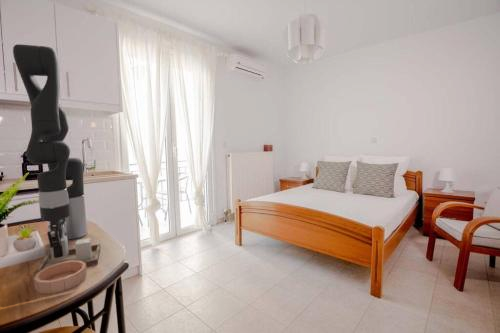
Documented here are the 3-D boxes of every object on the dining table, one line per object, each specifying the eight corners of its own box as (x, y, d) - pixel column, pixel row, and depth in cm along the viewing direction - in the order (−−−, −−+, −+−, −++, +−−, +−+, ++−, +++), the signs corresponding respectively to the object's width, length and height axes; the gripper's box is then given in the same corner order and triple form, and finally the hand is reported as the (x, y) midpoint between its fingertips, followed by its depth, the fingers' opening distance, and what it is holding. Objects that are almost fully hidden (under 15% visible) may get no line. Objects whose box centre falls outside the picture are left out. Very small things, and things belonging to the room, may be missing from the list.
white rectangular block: (78, 256, 86) (76, 240, 85) (92, 254, 88) (90, 238, 87) (76, 261, 82) (75, 244, 82) (90, 259, 84) (89, 242, 83)
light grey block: (54, 255, 83) (52, 238, 82) (68, 252, 85) (67, 235, 84) (51, 260, 79) (49, 242, 79) (66, 257, 81) (65, 240, 80)
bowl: (42, 277, 74) (41, 266, 74) (88, 267, 79) (87, 257, 79) (30, 299, 64) (28, 286, 63) (83, 286, 69) (82, 275, 69)
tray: (48, 258, 86) (47, 252, 85) (100, 248, 93) (100, 243, 93) (36, 277, 74) (35, 271, 74) (97, 265, 81) (97, 259, 81)
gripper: (45, 199, 84) (50, 247, 86) (33, 211, 72) (39, 266, 74) (72, 197, 88) (76, 243, 90) (65, 207, 75) (70, 260, 77)
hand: (60, 253), depth 82 cm, fingers closed on light grey block, 4 cm apart
